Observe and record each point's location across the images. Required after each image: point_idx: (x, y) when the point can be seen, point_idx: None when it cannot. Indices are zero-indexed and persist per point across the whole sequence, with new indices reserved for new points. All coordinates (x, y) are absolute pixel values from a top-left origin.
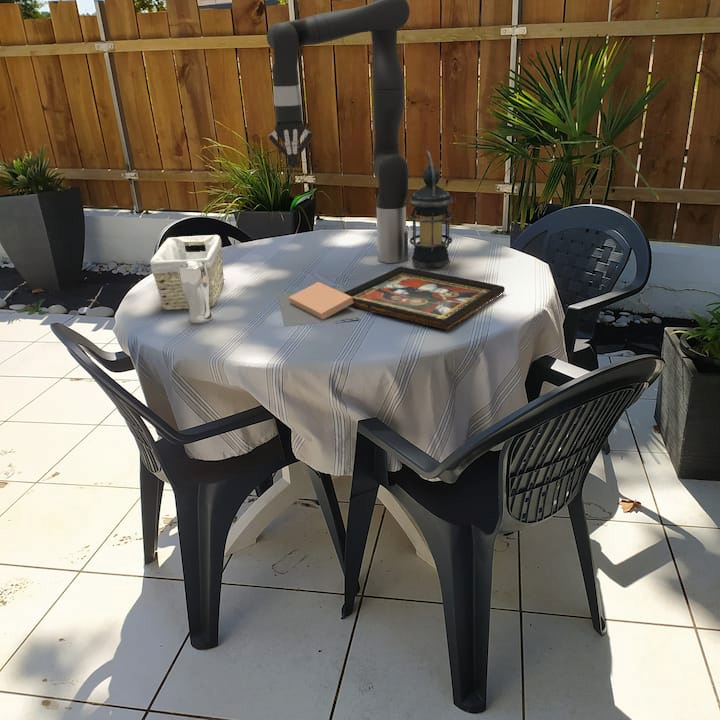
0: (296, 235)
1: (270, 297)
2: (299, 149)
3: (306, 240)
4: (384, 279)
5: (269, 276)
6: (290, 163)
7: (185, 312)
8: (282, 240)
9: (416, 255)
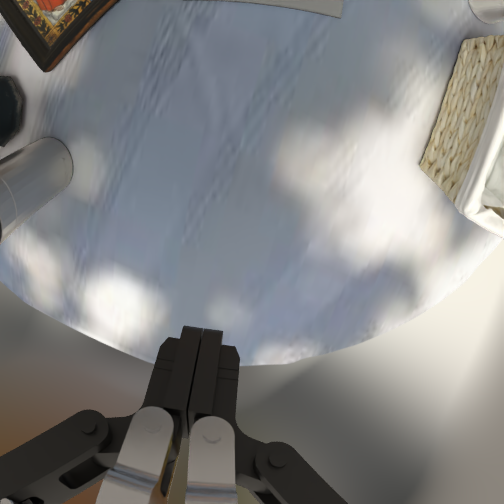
0: None
1: (355, 20)
2: (103, 431)
3: None
4: (91, 4)
5: (323, 154)
6: (219, 354)
7: None
8: None
9: (7, 100)
